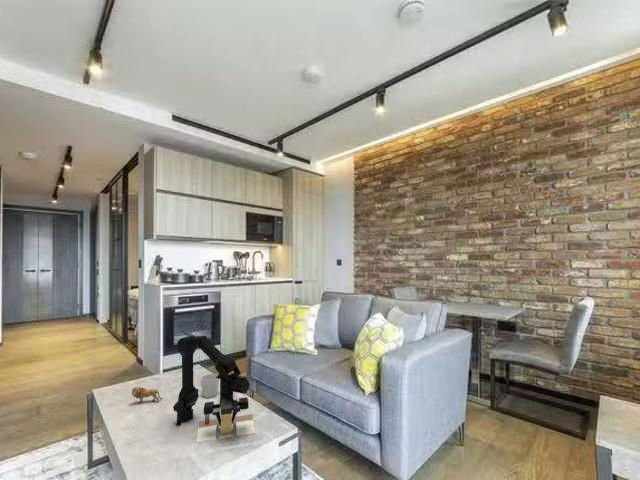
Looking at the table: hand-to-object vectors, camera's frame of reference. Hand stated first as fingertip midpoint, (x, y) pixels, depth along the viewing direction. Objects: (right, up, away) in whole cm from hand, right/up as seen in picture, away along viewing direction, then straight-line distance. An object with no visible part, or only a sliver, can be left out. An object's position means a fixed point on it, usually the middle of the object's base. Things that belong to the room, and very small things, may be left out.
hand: (226, 425), depth 139 cm
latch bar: (0, -1, 0) cm, 1 cm away
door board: (-1, -4, +3) cm, 5 cm away
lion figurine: (-51, -5, +28) cm, 58 cm away
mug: (-22, -5, +38) cm, 44 cm away
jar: (-7, -5, +29) cm, 30 cm away
